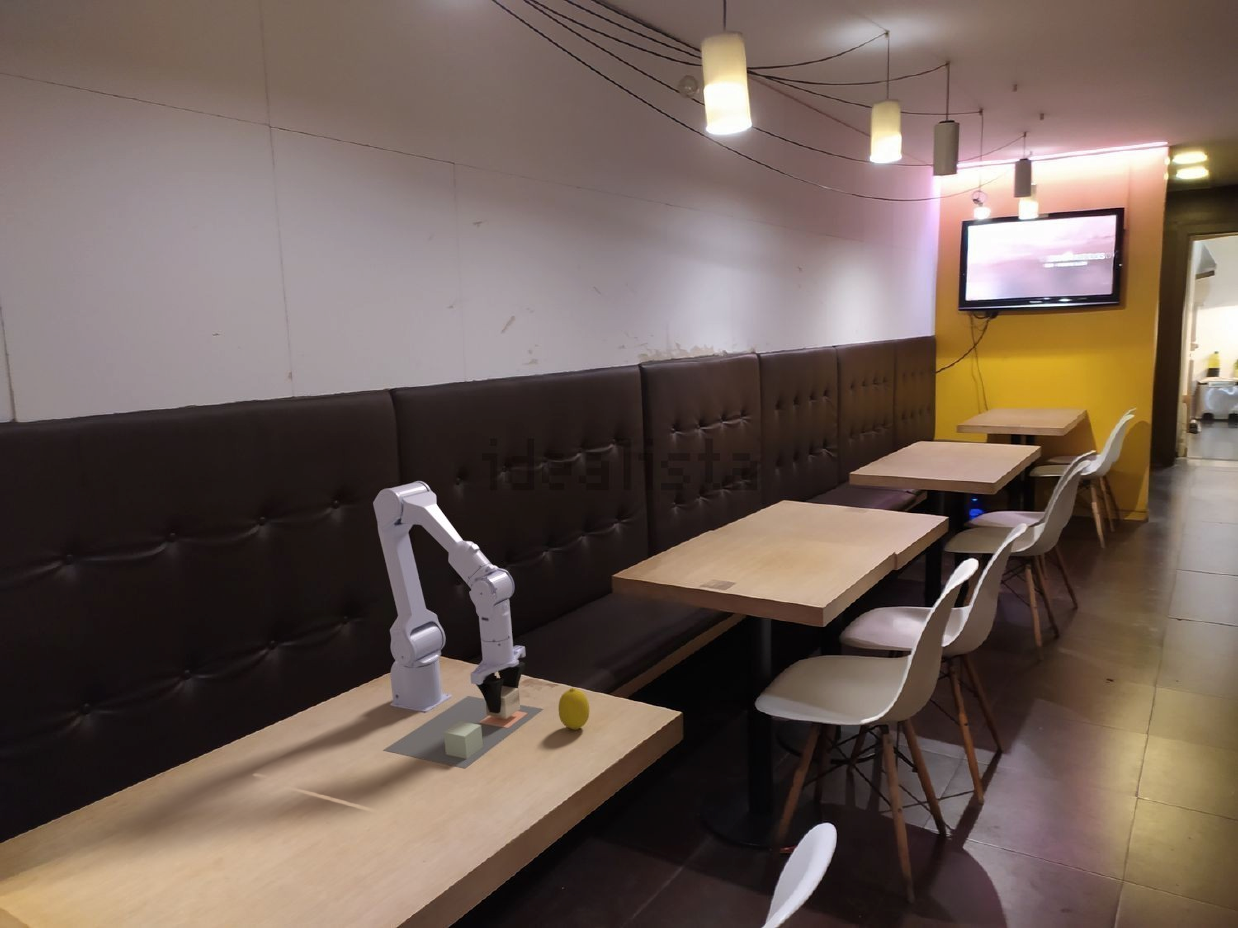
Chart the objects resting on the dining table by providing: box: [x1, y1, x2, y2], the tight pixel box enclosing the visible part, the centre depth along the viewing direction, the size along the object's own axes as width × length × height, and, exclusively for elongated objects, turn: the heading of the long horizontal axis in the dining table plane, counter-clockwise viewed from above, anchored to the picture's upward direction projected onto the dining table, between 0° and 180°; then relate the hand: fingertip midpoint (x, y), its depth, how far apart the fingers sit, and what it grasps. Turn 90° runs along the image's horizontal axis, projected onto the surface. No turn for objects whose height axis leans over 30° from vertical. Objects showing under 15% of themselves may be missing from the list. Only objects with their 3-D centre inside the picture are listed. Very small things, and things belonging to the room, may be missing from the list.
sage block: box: [444, 721, 483, 759], centre depth 144 cm, size 4×4×4 cm
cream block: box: [485, 686, 521, 719], centre depth 156 cm, size 4×4×4 cm
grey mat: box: [383, 695, 544, 769], centre depth 153 cm, size 18×24×1 cm
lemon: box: [558, 687, 590, 731], centre depth 149 cm, size 6×6×8 cm
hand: (502, 706), depth 156 cm, fingers closed on cream block, 4 cm apart
